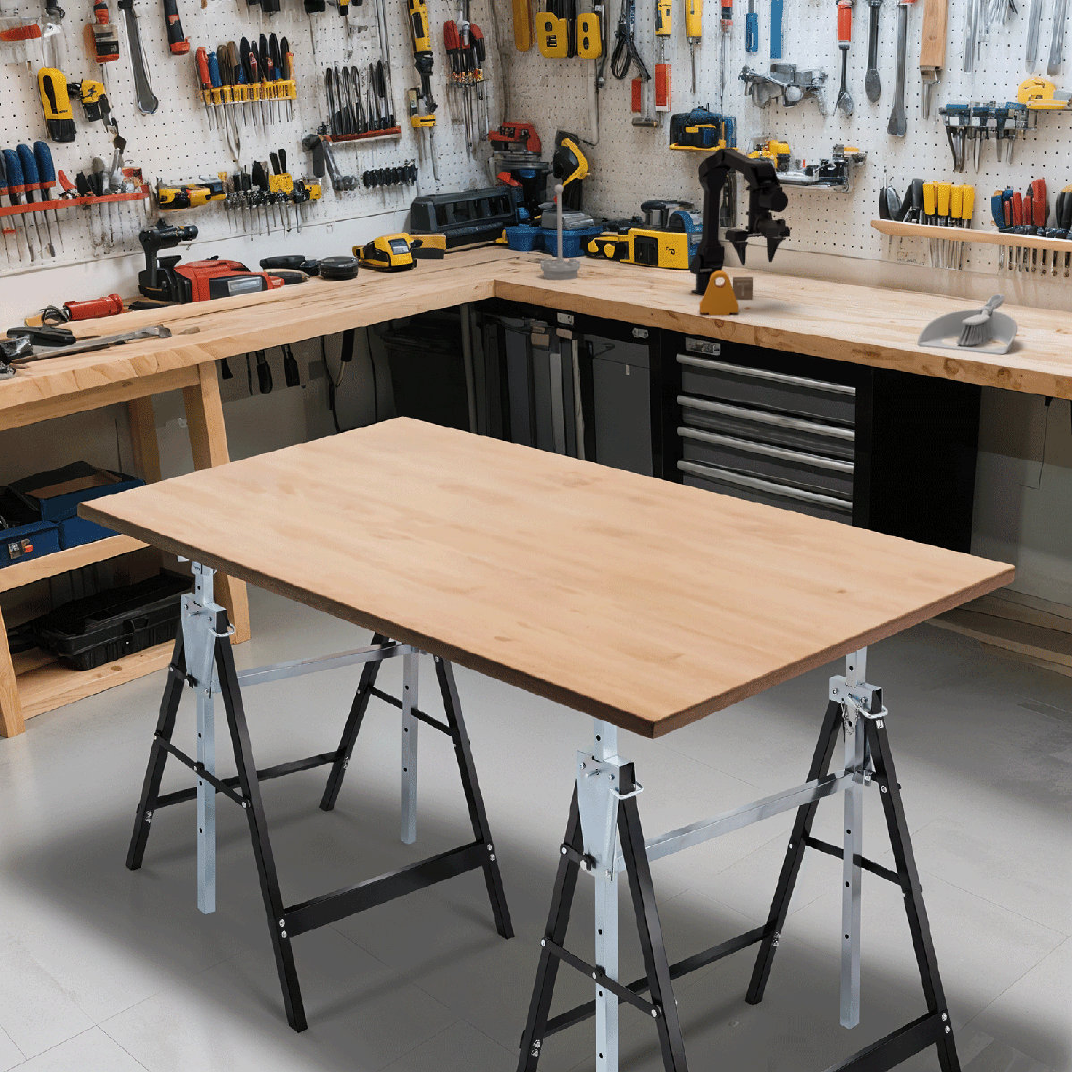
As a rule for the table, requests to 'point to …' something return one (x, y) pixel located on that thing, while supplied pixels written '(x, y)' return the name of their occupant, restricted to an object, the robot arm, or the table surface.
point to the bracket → (719, 297)
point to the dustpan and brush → (972, 328)
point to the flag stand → (560, 250)
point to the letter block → (743, 288)
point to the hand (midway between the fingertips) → (756, 263)
